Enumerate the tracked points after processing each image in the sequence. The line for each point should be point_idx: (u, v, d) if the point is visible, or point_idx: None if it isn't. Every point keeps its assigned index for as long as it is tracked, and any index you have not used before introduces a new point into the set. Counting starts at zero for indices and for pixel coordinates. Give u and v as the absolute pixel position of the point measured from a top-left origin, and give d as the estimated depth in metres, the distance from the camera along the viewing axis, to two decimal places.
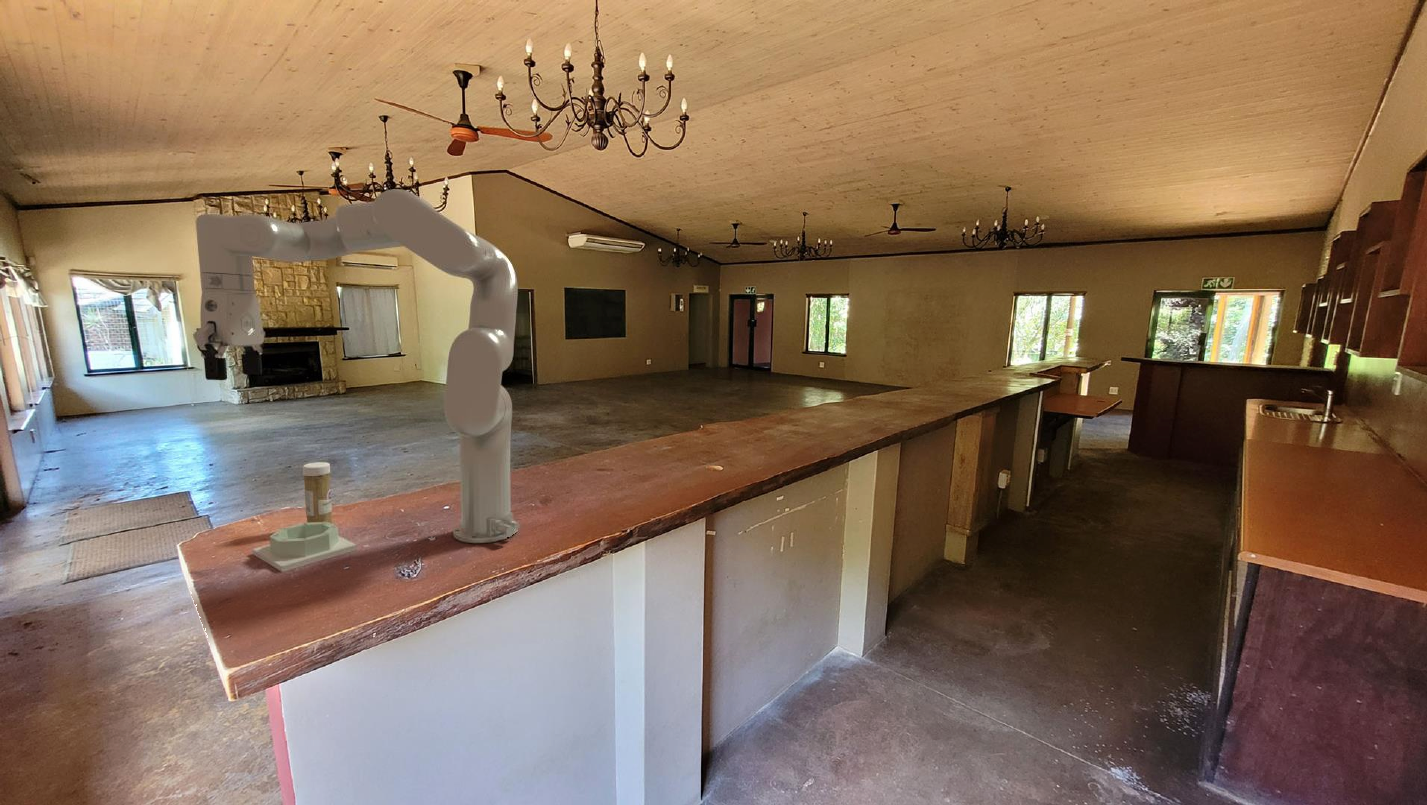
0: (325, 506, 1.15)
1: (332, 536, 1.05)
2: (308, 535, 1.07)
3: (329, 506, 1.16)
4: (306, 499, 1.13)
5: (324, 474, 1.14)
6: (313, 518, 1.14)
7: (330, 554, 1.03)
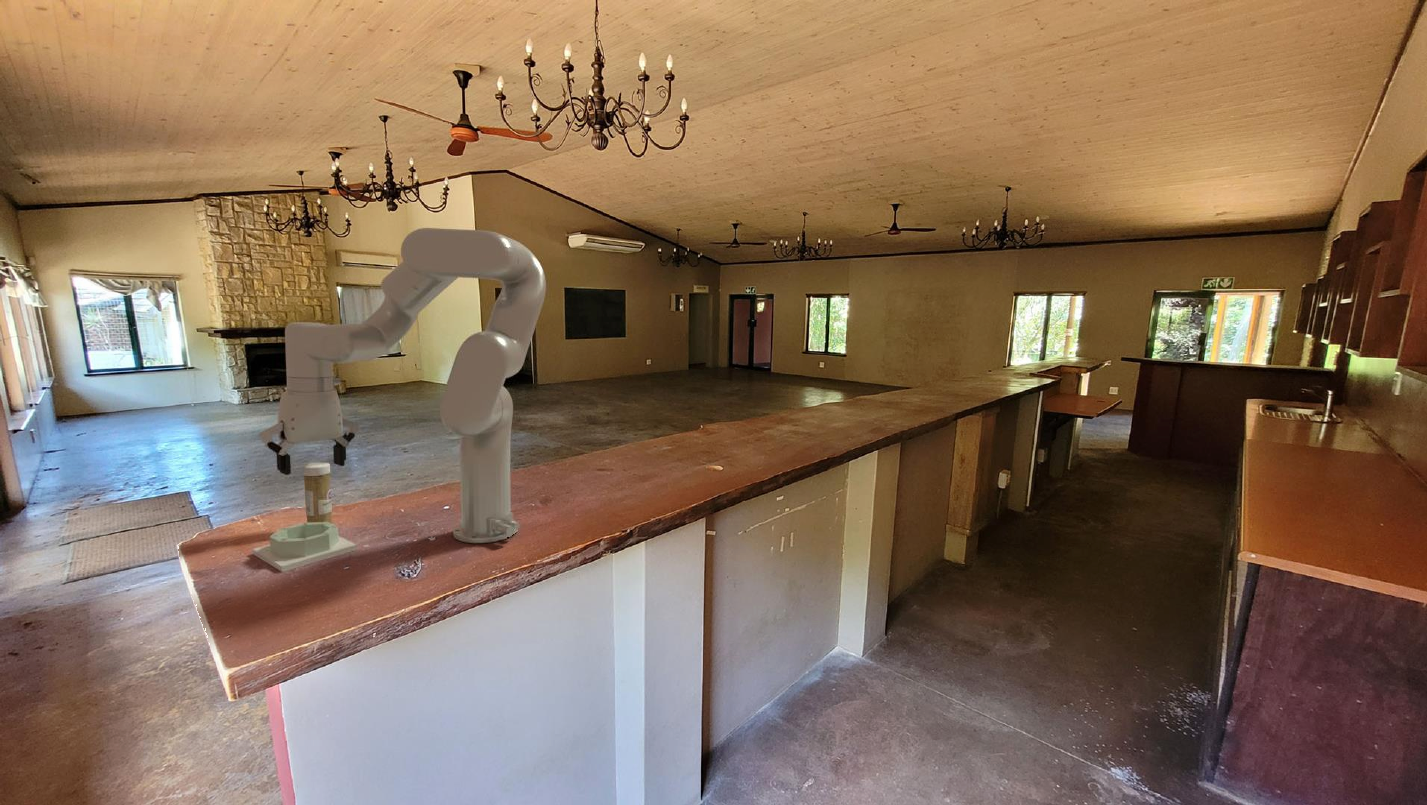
0: (325, 506, 1.15)
1: (332, 536, 1.05)
2: (308, 535, 1.07)
3: (329, 506, 1.16)
4: (306, 499, 1.13)
5: (324, 474, 1.14)
6: (313, 518, 1.14)
7: (330, 554, 1.03)
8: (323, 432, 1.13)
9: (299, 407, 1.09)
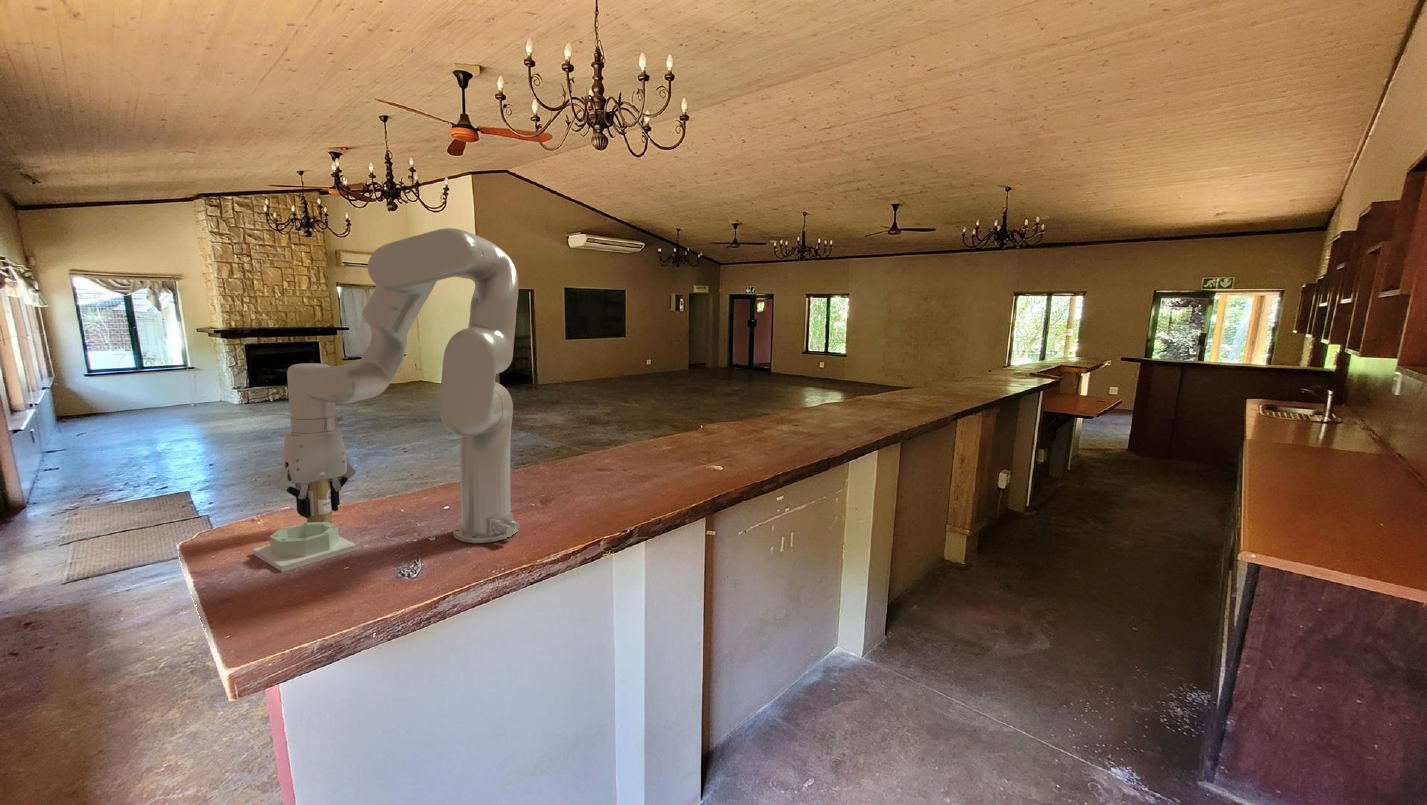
0: (325, 506, 1.15)
1: (332, 536, 1.05)
2: (308, 535, 1.07)
3: (329, 506, 1.16)
4: None
5: None
6: (313, 518, 1.14)
7: (330, 554, 1.03)
8: (327, 471, 1.14)
9: (304, 448, 1.10)
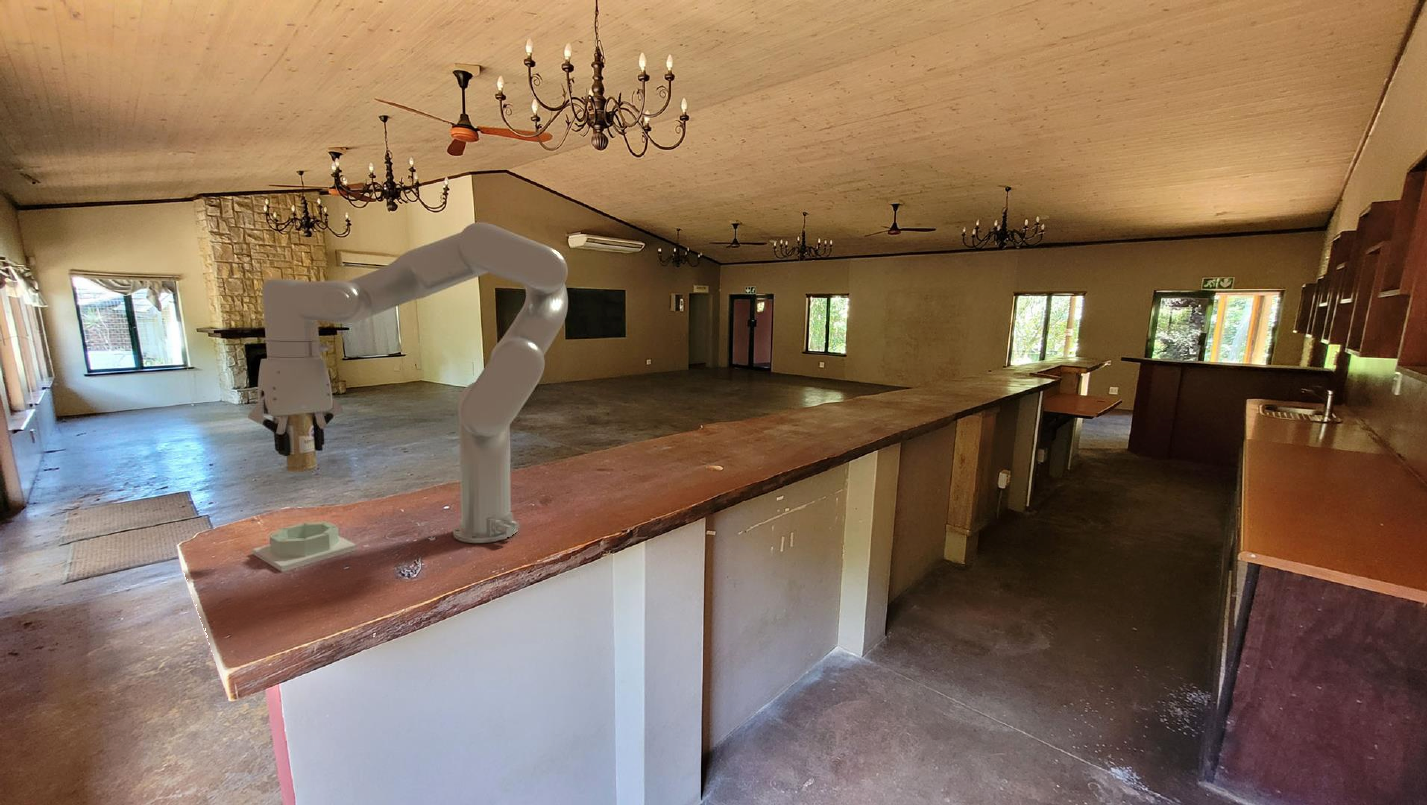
0: (307, 444, 1.01)
1: (332, 536, 1.05)
2: (308, 535, 1.07)
3: (312, 444, 1.02)
4: None
5: None
6: (294, 457, 1.00)
7: (330, 554, 1.03)
8: (310, 404, 1.00)
9: (281, 375, 0.96)
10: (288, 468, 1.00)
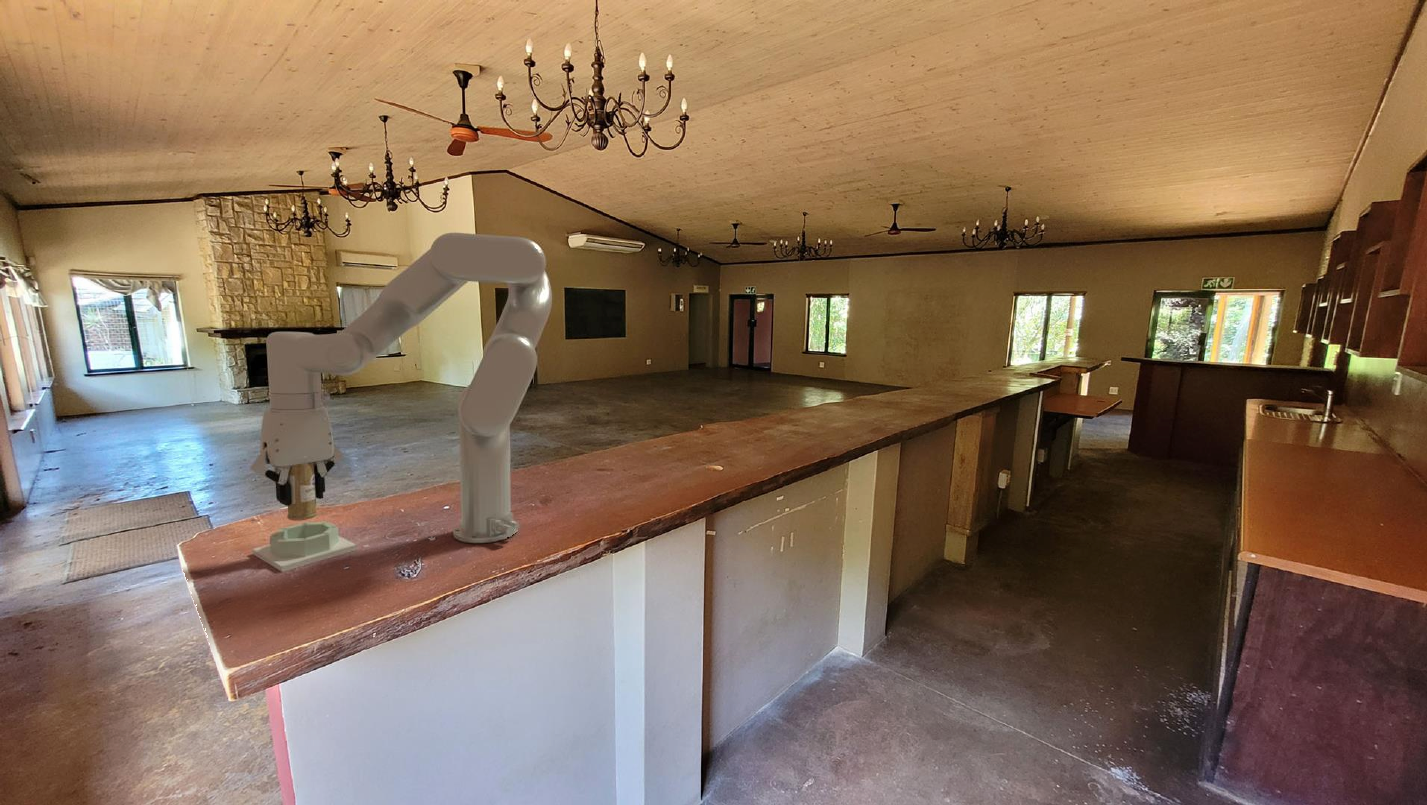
0: (308, 493, 1.02)
1: (332, 536, 1.05)
2: (308, 535, 1.07)
3: (313, 493, 1.03)
4: None
5: None
6: (295, 506, 1.01)
7: (330, 554, 1.03)
8: (312, 453, 1.02)
9: (284, 427, 0.98)
10: (289, 517, 1.02)
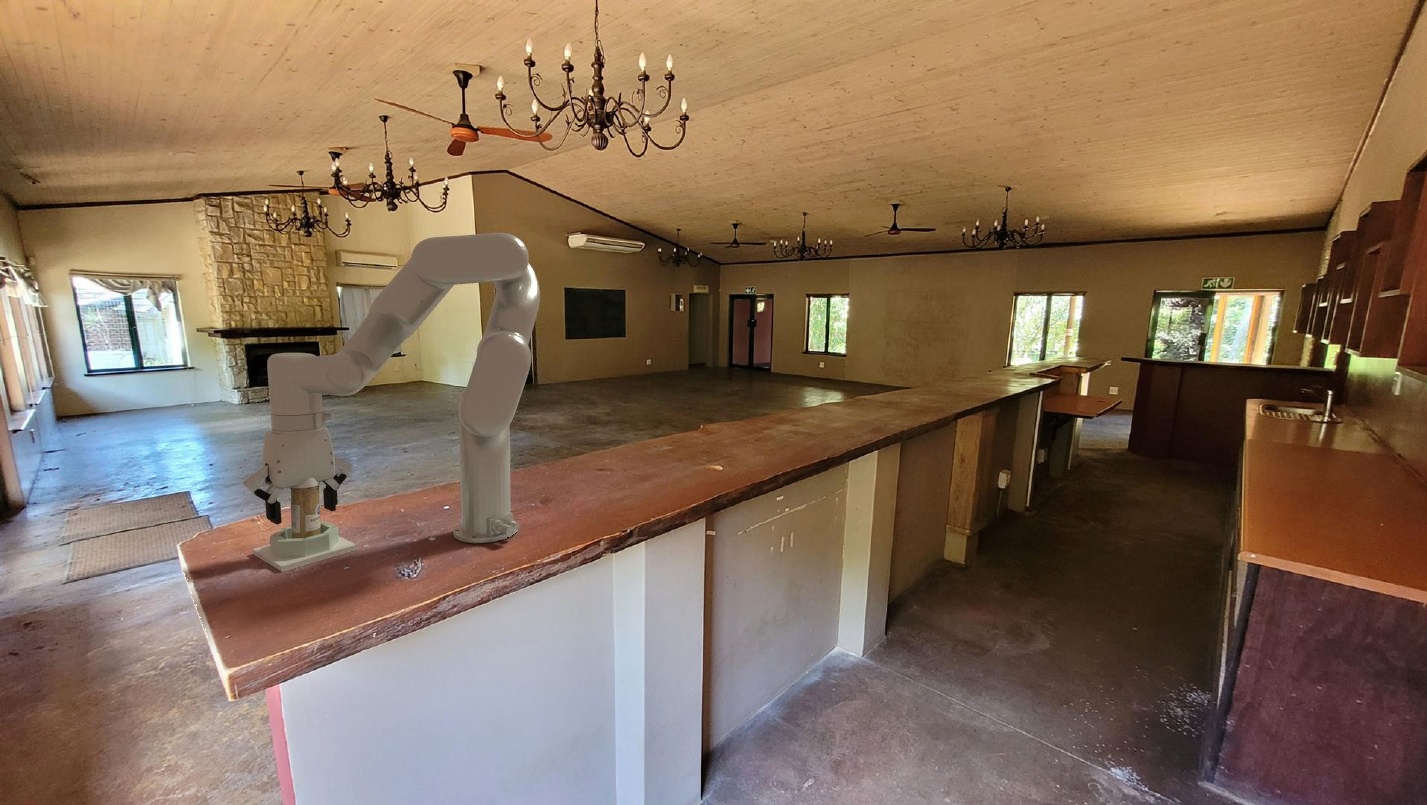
0: (313, 522, 1.03)
1: (332, 536, 1.05)
2: None
3: (318, 522, 1.04)
4: (292, 514, 1.02)
5: (313, 486, 1.03)
6: (299, 535, 1.02)
7: (330, 554, 1.03)
8: (313, 473, 1.02)
9: (286, 448, 0.98)
10: None
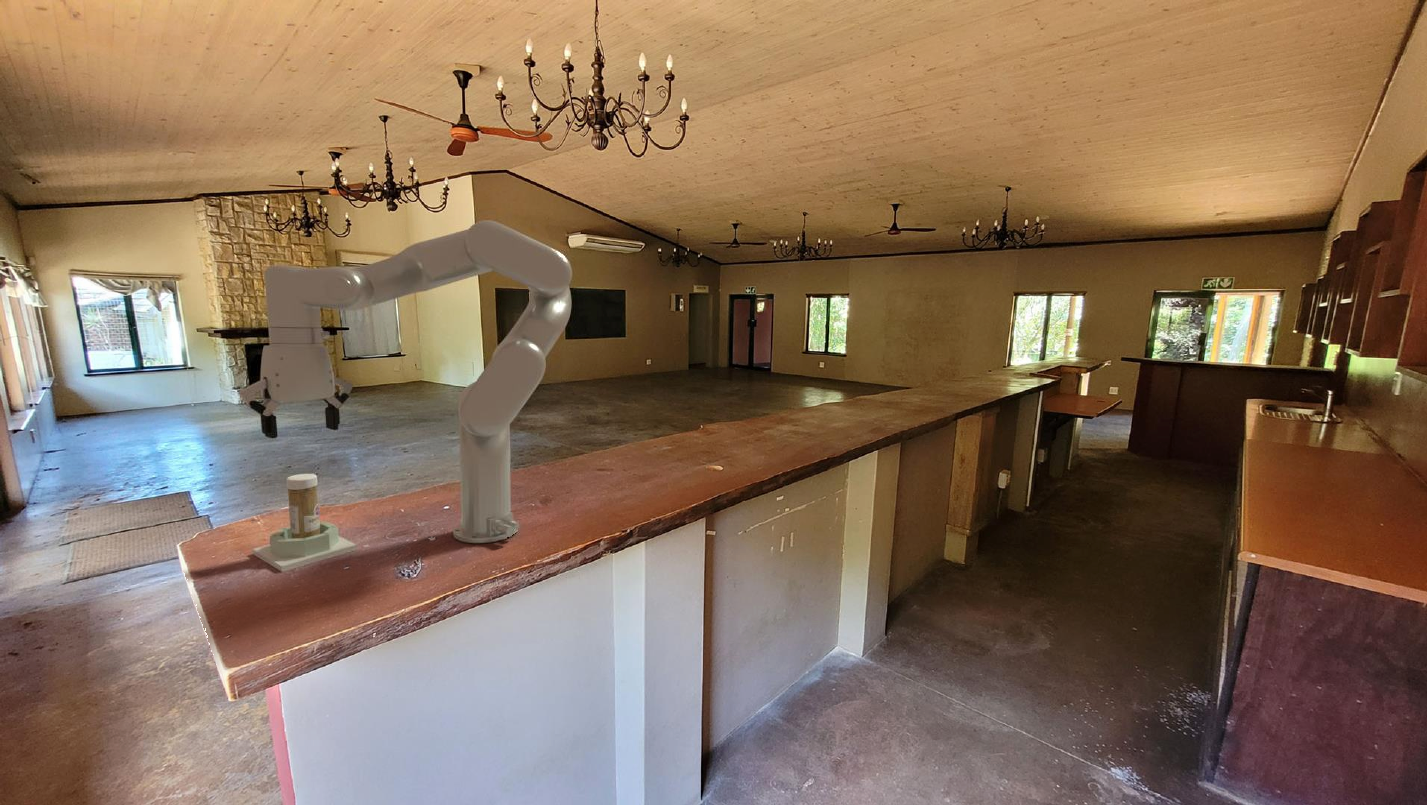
0: (312, 523, 1.03)
1: (332, 536, 1.05)
2: None
3: (317, 523, 1.04)
4: (290, 515, 1.02)
5: (310, 487, 1.02)
6: (299, 536, 1.02)
7: (330, 554, 1.03)
8: (312, 391, 1.01)
9: (284, 361, 0.97)
10: None
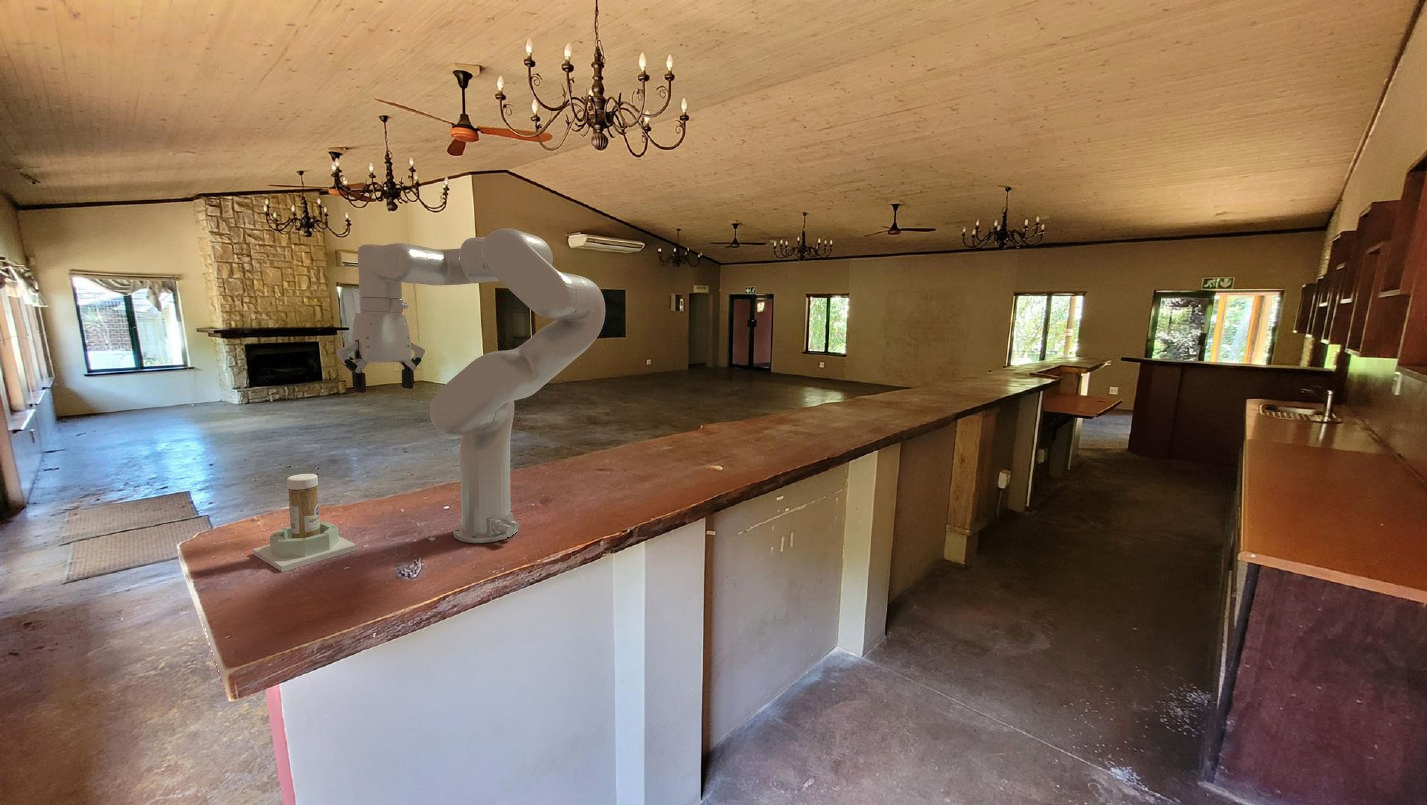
0: (312, 523, 1.03)
1: (332, 536, 1.05)
2: None
3: (317, 523, 1.04)
4: (291, 515, 1.02)
5: (311, 487, 1.02)
6: (299, 536, 1.02)
7: (330, 554, 1.03)
8: (394, 353, 1.17)
9: (373, 326, 1.13)
10: None
